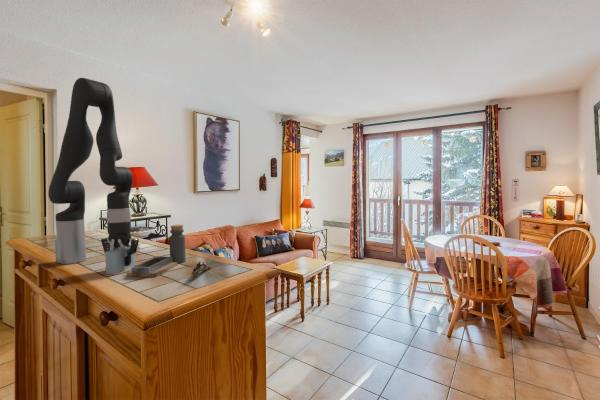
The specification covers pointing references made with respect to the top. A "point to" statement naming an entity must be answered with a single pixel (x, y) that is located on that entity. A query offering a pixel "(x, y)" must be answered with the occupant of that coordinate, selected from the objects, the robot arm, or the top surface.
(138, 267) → the grey piece
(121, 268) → the door
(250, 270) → the top surface
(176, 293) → the top surface
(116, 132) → the robot arm
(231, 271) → the top surface
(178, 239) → the bottle
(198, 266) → the figurine
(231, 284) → the top surface
